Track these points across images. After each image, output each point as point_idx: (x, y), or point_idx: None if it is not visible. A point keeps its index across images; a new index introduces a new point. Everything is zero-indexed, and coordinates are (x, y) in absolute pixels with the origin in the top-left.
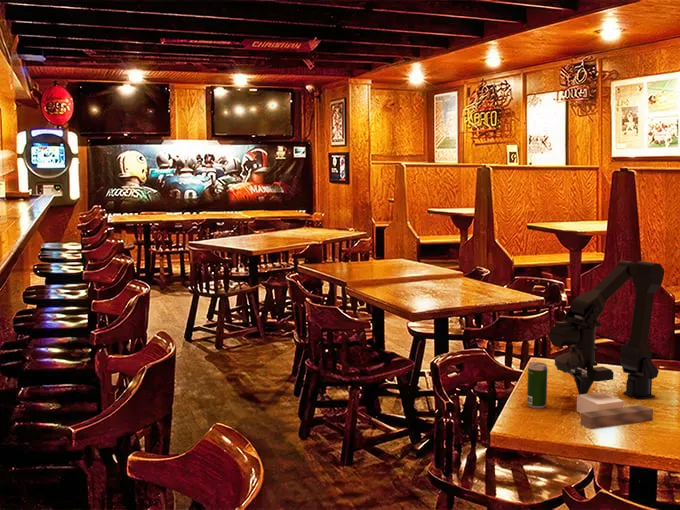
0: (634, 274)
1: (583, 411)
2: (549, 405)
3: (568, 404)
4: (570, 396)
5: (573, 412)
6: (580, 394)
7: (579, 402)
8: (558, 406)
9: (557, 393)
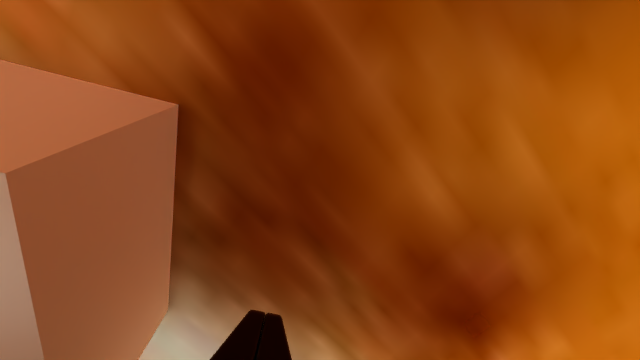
0: None
1: (32, 78)
2: (489, 25)
3: (371, 210)
4: (475, 353)
5: (168, 51)
6: (20, 242)
7: (40, 118)
8: (396, 85)
9: (588, 343)
